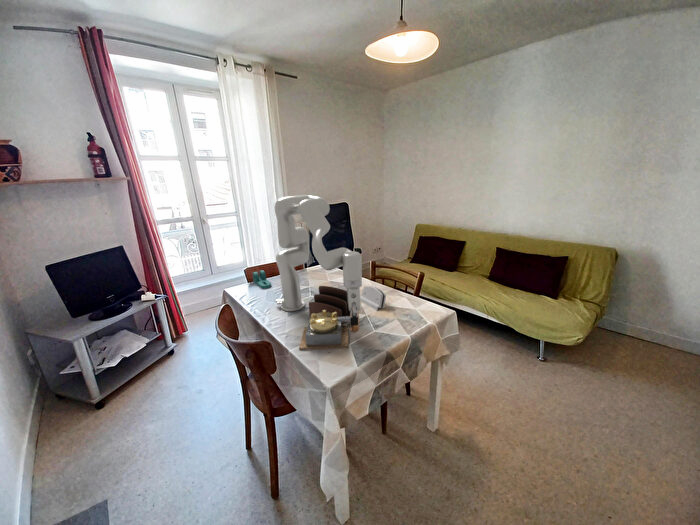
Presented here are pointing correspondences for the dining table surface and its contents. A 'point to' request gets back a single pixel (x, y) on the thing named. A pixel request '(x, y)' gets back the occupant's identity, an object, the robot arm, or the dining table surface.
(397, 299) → the dining table surface
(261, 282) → the bracket
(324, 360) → the dining table surface
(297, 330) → the dining table surface
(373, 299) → the hinge
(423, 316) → the dining table surface
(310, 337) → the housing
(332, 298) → the letter holder
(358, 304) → the robot arm
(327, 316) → the gold rounded piece
